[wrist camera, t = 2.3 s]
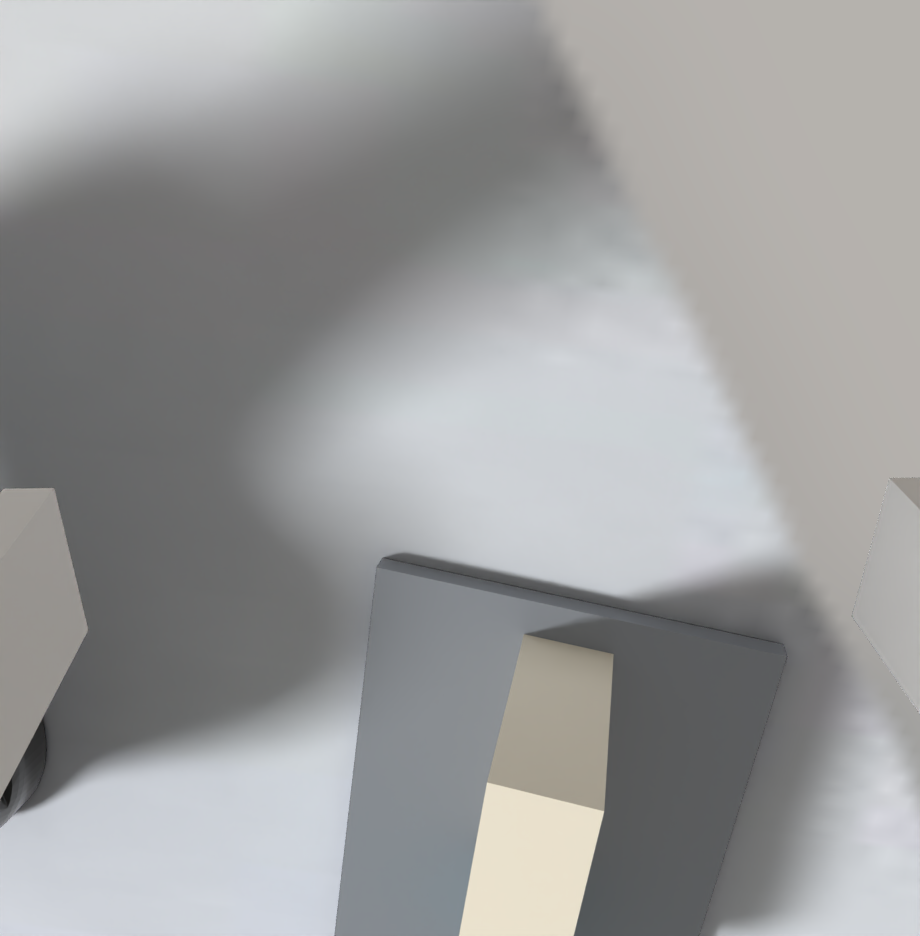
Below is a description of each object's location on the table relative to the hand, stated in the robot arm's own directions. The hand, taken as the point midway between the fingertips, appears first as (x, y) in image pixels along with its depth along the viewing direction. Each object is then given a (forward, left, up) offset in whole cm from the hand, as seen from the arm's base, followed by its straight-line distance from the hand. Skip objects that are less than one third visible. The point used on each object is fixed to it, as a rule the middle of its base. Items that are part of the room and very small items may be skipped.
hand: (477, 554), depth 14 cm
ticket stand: (-17, -20, -23) cm, 35 cm away
